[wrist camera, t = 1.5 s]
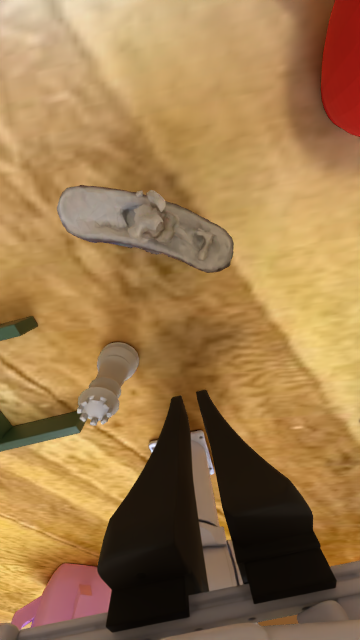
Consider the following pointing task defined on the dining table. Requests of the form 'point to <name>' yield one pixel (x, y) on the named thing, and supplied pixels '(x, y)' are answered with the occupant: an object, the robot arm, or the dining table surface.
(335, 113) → the ceramic cup
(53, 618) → the teakettle
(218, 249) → the flask
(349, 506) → the dining table surface
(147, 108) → the dining table surface
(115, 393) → the rook chess piece
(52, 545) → the dining table surface
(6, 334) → the bay
